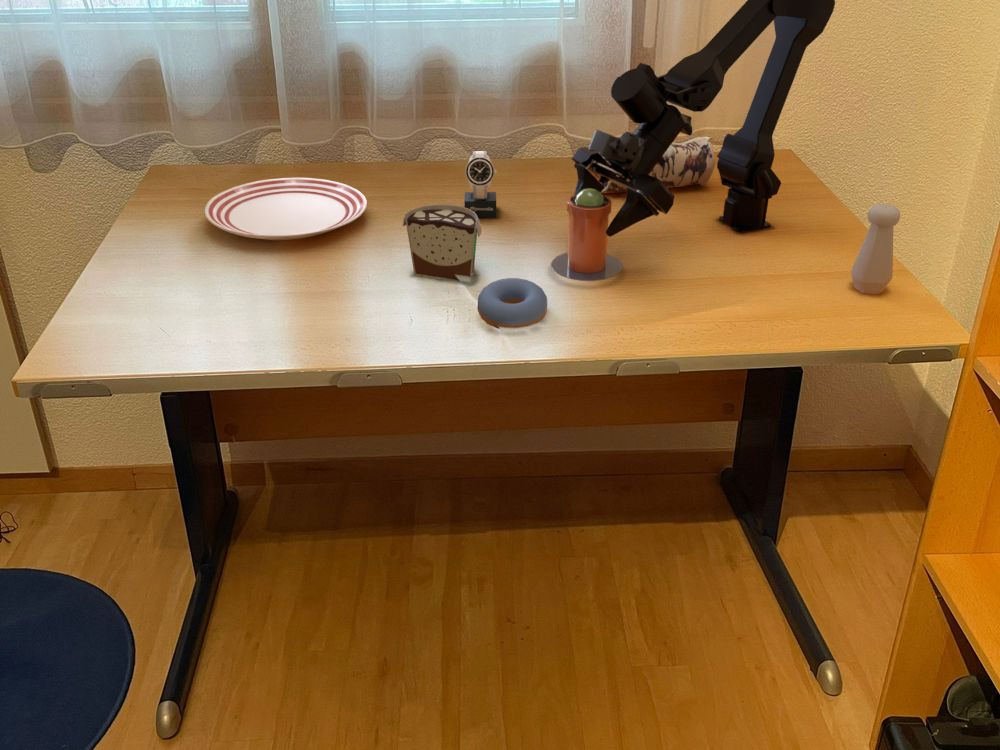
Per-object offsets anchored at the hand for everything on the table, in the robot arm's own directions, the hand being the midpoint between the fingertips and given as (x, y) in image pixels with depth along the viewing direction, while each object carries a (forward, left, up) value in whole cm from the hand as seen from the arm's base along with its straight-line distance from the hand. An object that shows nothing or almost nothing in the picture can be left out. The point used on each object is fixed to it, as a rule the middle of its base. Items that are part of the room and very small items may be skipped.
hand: (588, 224), depth 149 cm
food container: (+20, -8, -8) cm, 23 cm away
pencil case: (-27, -27, -8) cm, 40 cm away
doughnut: (+17, +10, -8) cm, 21 cm away
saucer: (0, 0, -8) cm, 8 cm away
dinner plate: (+39, -38, -8) cm, 55 cm away
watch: (+7, -28, -8) cm, 30 cm away
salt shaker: (-36, +22, -8) cm, 43 cm away
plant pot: (0, 0, -7) cm, 7 cm away
